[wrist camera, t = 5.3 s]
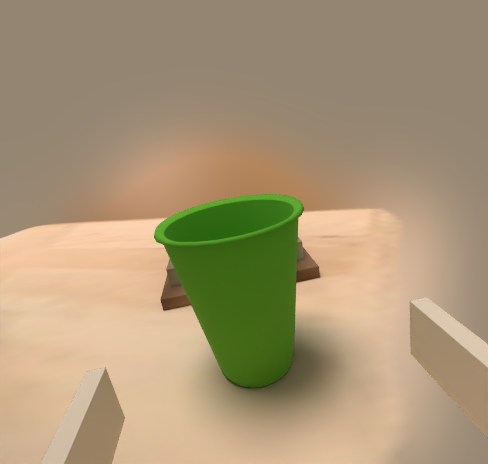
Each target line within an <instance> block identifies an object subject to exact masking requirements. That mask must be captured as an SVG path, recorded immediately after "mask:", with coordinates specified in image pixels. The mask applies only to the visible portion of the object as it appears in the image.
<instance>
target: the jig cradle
mask: <svg viewBox="0 0 488 464" xmlns="http://www.w3.org/2000/svg"><path fill="white" fill-rule="evenodd" d="M318 277H320V274H319V266H318V265H317V264H316V263H315V261H314V260H313V259H312V258H311V256H310V255H309V254H308V253H307V252H306V250H305V249H304V248H303V246H302V241H301V240H300V239H299V238H298V241H297V272H296V282H299V281H304V280H308V279H313V278H318ZM161 303H162V307H163V310H168V309H173V308H177V307H182V306H187V305H191V303H190V301H189V299H188V296H187V294H186V292H185V290H184V288H183V286H182V283H181V281H180V279H179V277H178V275H177V273H176V270H175V268H174V266H173V264H172V262H171V260H170V259H169V263H168V266H167V278H166V282H165V285H164V289H163V293H162V296H161Z"/></svg>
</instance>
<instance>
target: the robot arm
mask: <svg viewBox="0 0 488 464" xmlns="http://www.w3.org/2000/svg"><path fill="white" fill-rule="evenodd" d="M410 339H411V340H410V342H411V343H410V344H411V354H412V355H413V356H414V358H415V359H416V360H417V361H418V362H419V363H420V364H421V365H422V366H423V368H424V369H425V370H427V372H428V373H429V374H430V375H431V376H432V377H433V379H434V380H435V381H436V382H437V383H438V384H439V385H440V386H441V387H442V388H443V390H444V391H445V392H446V393H447V394H448V395H449V396H450V397H451V398H452V400H453V401H454V402H455V403H456V404H457V405H458V406H459V407H460V408H461V409H462V411H463V412H464V413H465V414H466V415H467V416H468V417H469V418H470V419H471V421H472V422H473V423H474V424H475V425H476V426H477V427H478V428H479V429H480V430H481V432H482V433H483V434H484V435H485V436H486V437H487V438H488V344H486V343H485V342H484V341H483V340H481V339H480V338H479V337H478V336H476V335H475V334H474V333H472V332H471V331H470V330H468V329H467V328H466V327H465V326H463V325H462V324H461V323H459V322H458V321H457V320H455V319H454V318H453V317H452V316H450V315H449V314H448V313H446V312H445V311H444V310H443V309H441V308H440V307H439V306H437V305H436V304H435V303H433V302H432V301H431V300H430V299H428V298H427V297H426V298H422V299H417V300H412V301H410ZM124 419H125V417H124V414H123V412H122V409H121V406H120V404H119V401H118V399H117V396H116V393H115V391H114V388H113V386H112V383H111V380H110V378H109V375H108V373H107V370H106V367H105V368H100V369H95V370H91V371H87V372H86V374H85V376H84V378H83V380H82V382H81V384H80V386H79V388H78V390H77V392H76V394H75V396H74V398H73V400H72V402H71V404H70V406H69V408H68V410H67V412H66V414H65V416H64V418H63V420H62V422H61V424H60V426H59V428H58V430H57V432H56V434H55V436H54V438H53V440H52V442H51V444H50V446H49V448H48V450H47V452H46V454H45V456H44V458H43V460H42V462H41V464H112V461H113V457H114V454H115V450H116V447H117V443H118V440H119V436H120V433H121V429H122V426H123V422H124Z"/></svg>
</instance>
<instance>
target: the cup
mask: <svg viewBox="0 0 488 464" xmlns="http://www.w3.org/2000/svg"><path fill="white" fill-rule="evenodd" d="M303 211H304V207H303V205H302V203H301V202H300V201H299V200H298V199H296V198H294V197H290V196H286V195H275V194H263V195H250V196H241V197H234V198H229V199H223V200H218V201H214V202H210V203H206V204H203V205H200V206H196V207H193V208H190V209H187V210H185V211H182V212H179V213H177V214H175V215H173V216H171V217H169V218H167V219H166V220H164V221H163V222H161V223H160V224H159V225H158V226H157V227H156V230H155V234H154V238H155V240H156V241H157V242H158V243H161V244H163V245H164V247H165V249H166V251H167V253H168V255H169V257H170V260H171V262H172V264H173V266H174V268H175V270H176V273H177V275H178V277H179V279H180V281H181V283H182V286H183V288H184V290H185V292H186V294H187V296H188V299H189V301H190V303H191V305H192V307H193V310H194V312H195V314H196V316H197V318H198V320H199V323H200V325H201V327H202V329H203V331H204V333H205V336H206V338H207V340H208V342H209V344H210V346H211V349H212V351H213V353H214V355H215V357H216V359H217V362H218V364H219V366H220V368H221V370H222V372H223V374H224V375H225V376H227V377H228V379H230V380H231V381H232V382H233V383H235V384H237V385H239V386H243V387H248V388H257V387H262V386H266V385H269V384H272V383H274V382H276V381H277V380H279V379H280V378H282V377H283V376H284V375H285V374H286V373H287V371H288V369H289V368H290V365H291V363H292V360H293V356H294V333H295V303H296V272H297V241H298V217H300V216H301V215H302V213H303Z"/></svg>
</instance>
